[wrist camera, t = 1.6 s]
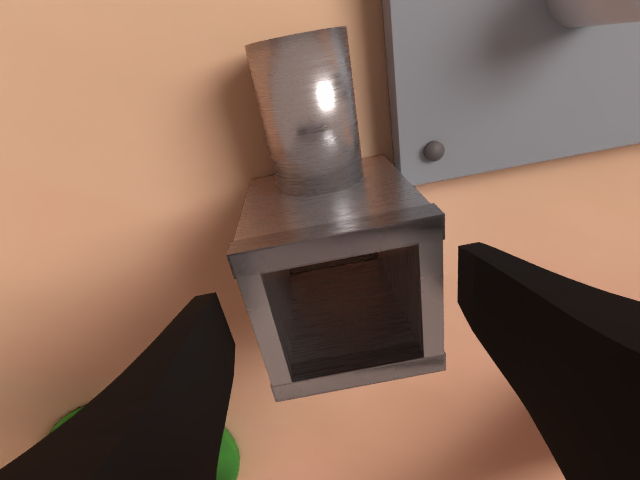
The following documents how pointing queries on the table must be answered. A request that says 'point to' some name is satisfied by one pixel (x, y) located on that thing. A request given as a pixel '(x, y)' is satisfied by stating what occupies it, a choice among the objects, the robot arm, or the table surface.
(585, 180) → the table surface
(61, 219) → the table surface
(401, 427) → the table surface
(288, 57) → the elbow
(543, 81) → the panel
